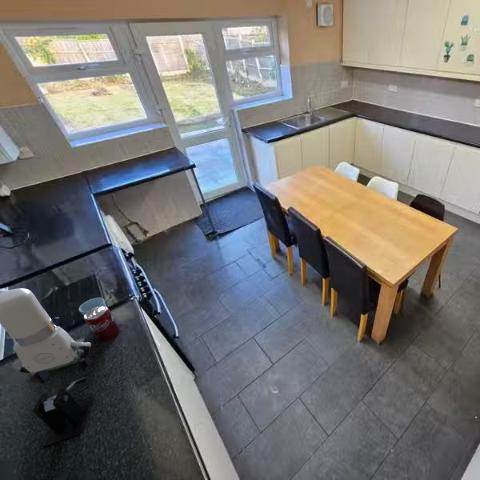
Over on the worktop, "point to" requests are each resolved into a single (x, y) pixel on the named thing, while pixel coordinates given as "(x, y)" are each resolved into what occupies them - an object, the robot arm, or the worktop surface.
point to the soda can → (102, 323)
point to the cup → (91, 305)
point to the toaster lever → (49, 402)
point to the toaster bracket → (63, 416)
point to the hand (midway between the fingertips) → (66, 373)
